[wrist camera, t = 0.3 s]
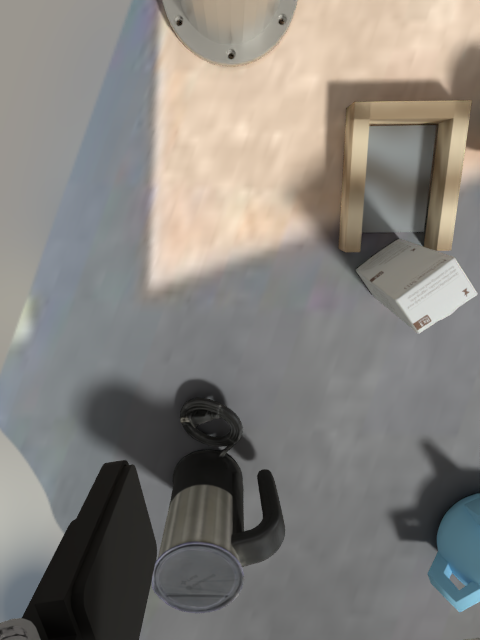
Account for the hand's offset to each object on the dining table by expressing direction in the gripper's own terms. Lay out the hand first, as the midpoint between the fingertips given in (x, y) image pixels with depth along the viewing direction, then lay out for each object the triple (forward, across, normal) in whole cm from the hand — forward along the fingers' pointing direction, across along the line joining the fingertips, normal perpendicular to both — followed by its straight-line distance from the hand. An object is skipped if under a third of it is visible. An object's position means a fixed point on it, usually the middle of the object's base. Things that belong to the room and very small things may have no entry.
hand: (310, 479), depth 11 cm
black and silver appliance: (+36, +9, +23) cm, 44 cm away
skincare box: (+36, -15, +3) cm, 39 cm away
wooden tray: (+36, -16, -7) cm, 40 cm away
